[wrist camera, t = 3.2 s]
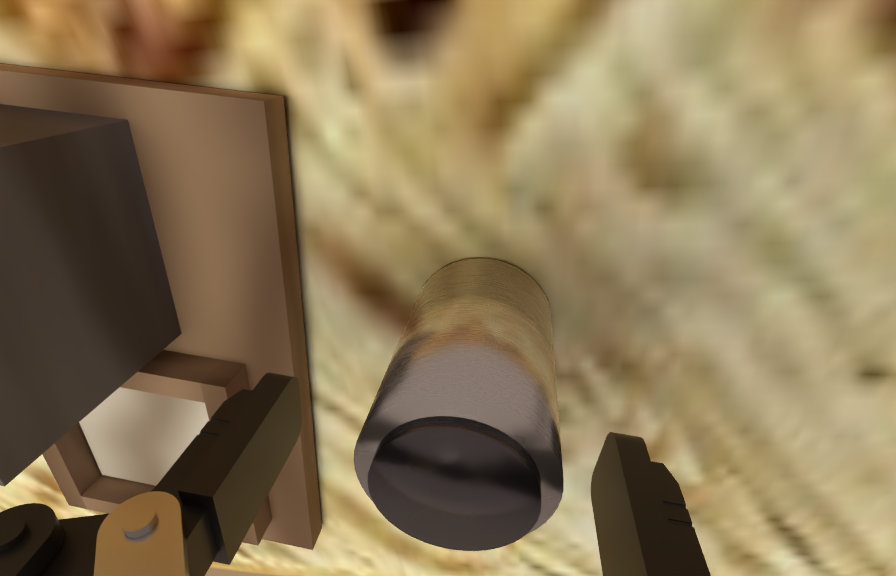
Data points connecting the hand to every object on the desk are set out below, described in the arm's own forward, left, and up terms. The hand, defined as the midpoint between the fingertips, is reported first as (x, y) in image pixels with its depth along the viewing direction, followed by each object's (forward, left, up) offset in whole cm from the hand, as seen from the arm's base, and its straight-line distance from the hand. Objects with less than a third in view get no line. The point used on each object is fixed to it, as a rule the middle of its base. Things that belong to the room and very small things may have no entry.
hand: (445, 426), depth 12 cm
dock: (+14, +4, -6) cm, 15 cm away
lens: (0, 0, -6) cm, 6 cm away
